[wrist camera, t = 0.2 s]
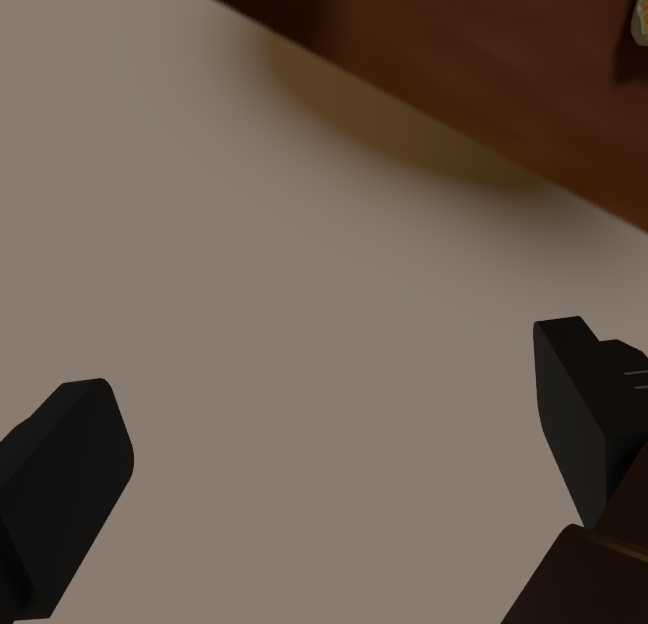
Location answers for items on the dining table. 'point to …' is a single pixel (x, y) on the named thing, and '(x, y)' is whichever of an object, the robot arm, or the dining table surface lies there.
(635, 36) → the croissant
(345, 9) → the dining table surface
